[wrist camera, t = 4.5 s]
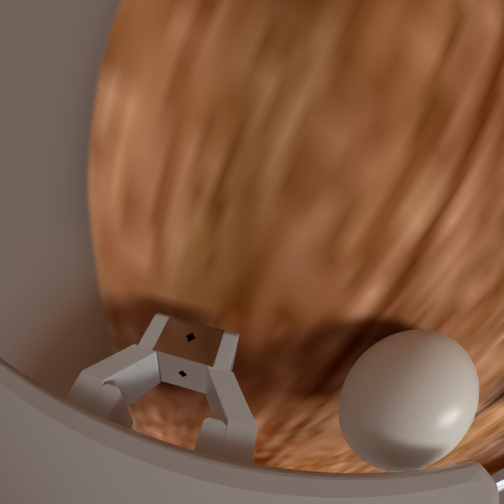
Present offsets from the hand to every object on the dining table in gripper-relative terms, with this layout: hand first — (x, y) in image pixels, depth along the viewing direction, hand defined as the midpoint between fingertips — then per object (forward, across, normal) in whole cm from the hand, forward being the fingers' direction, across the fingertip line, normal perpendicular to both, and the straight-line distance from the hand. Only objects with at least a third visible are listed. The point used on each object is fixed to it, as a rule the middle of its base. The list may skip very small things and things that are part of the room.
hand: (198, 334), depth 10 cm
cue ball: (-1, -8, 0) cm, 8 cm away
